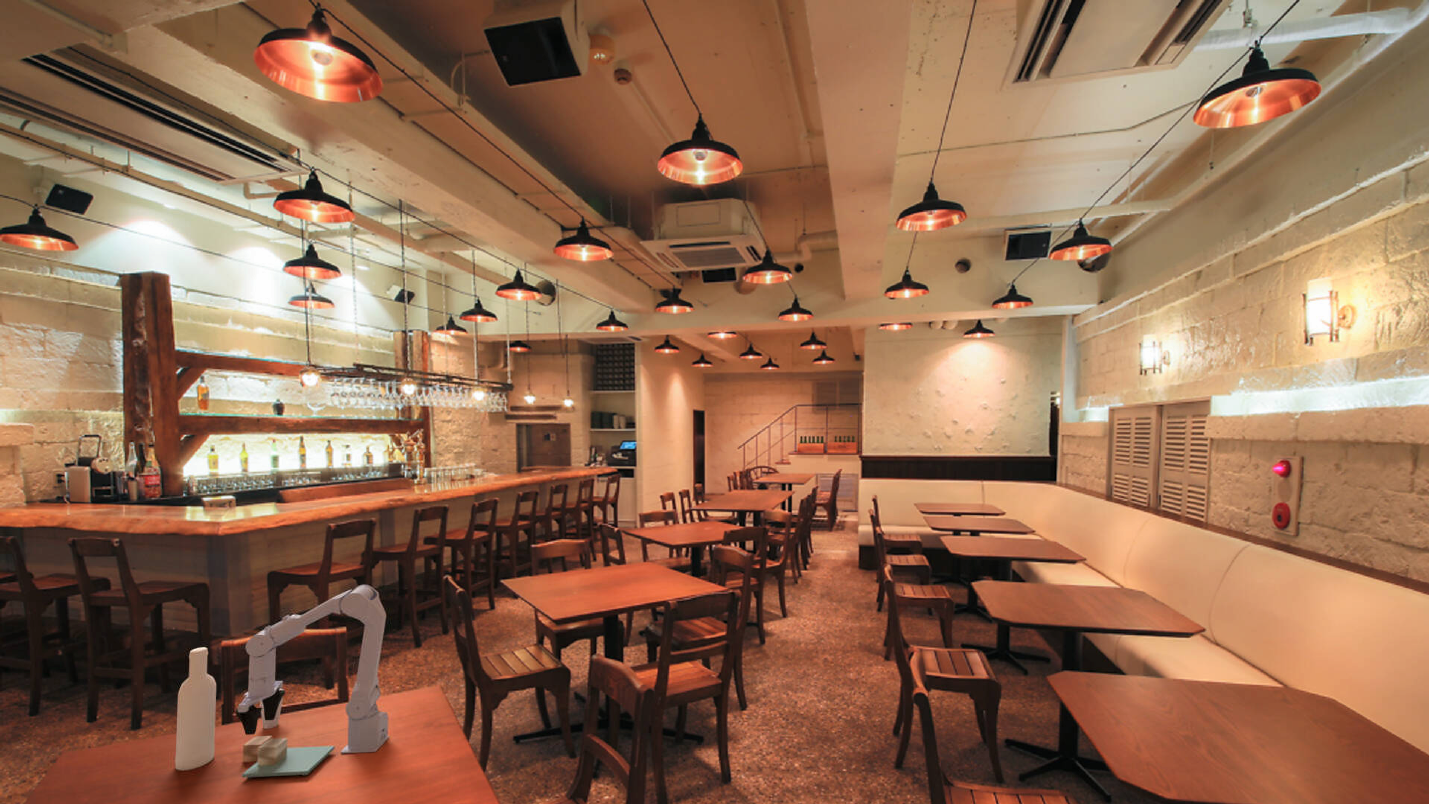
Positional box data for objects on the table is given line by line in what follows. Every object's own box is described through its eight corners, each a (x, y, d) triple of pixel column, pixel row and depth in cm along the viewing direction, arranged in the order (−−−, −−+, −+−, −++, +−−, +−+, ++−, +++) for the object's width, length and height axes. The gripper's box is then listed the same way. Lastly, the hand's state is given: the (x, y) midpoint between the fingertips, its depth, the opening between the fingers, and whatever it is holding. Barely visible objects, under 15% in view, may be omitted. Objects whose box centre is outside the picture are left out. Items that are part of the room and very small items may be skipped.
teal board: (334, 752, 162) (334, 745, 162) (307, 778, 150) (307, 771, 150) (273, 755, 161) (274, 748, 161) (241, 781, 149) (242, 774, 149)
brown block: (271, 752, 162) (272, 735, 162) (260, 761, 158) (260, 744, 158) (254, 753, 162) (255, 736, 162) (242, 762, 157) (243, 745, 158)
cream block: (286, 755, 157) (287, 738, 157) (275, 764, 153) (275, 747, 153) (269, 755, 157) (269, 738, 157) (257, 765, 152) (258, 747, 153)
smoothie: (269, 732, 173) (270, 684, 173) (251, 730, 174) (253, 682, 175) (289, 721, 179) (290, 675, 180) (271, 719, 180) (273, 673, 181)
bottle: (213, 764, 156) (216, 650, 158) (173, 774, 152) (177, 657, 153) (215, 751, 163) (218, 641, 164) (177, 761, 158) (181, 648, 159)
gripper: (264, 665, 167) (263, 714, 166) (226, 688, 152) (224, 741, 152) (290, 665, 167) (289, 713, 167) (255, 687, 153) (253, 740, 152)
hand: (260, 726), depth 159 cm, fingers open, 7 cm apart
